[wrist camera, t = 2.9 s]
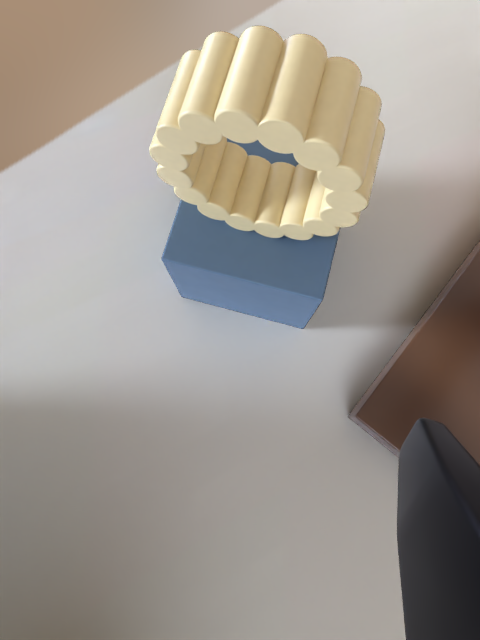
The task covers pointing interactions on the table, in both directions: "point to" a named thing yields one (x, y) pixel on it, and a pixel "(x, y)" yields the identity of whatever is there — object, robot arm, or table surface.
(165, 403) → the table surface
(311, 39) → the cream fluted ring
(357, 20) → the table surface
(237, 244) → the blue block
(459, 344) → the stand
